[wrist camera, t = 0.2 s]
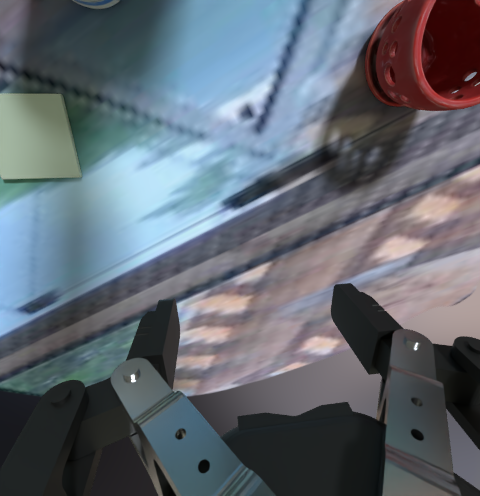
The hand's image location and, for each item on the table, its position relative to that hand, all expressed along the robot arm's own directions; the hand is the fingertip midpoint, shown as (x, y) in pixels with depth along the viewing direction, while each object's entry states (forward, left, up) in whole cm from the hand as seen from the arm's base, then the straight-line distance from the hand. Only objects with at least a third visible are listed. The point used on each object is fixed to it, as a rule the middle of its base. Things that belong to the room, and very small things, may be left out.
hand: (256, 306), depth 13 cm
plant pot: (-17, +24, -29) cm, 42 cm away
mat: (-8, -25, -29) cm, 39 cm away
